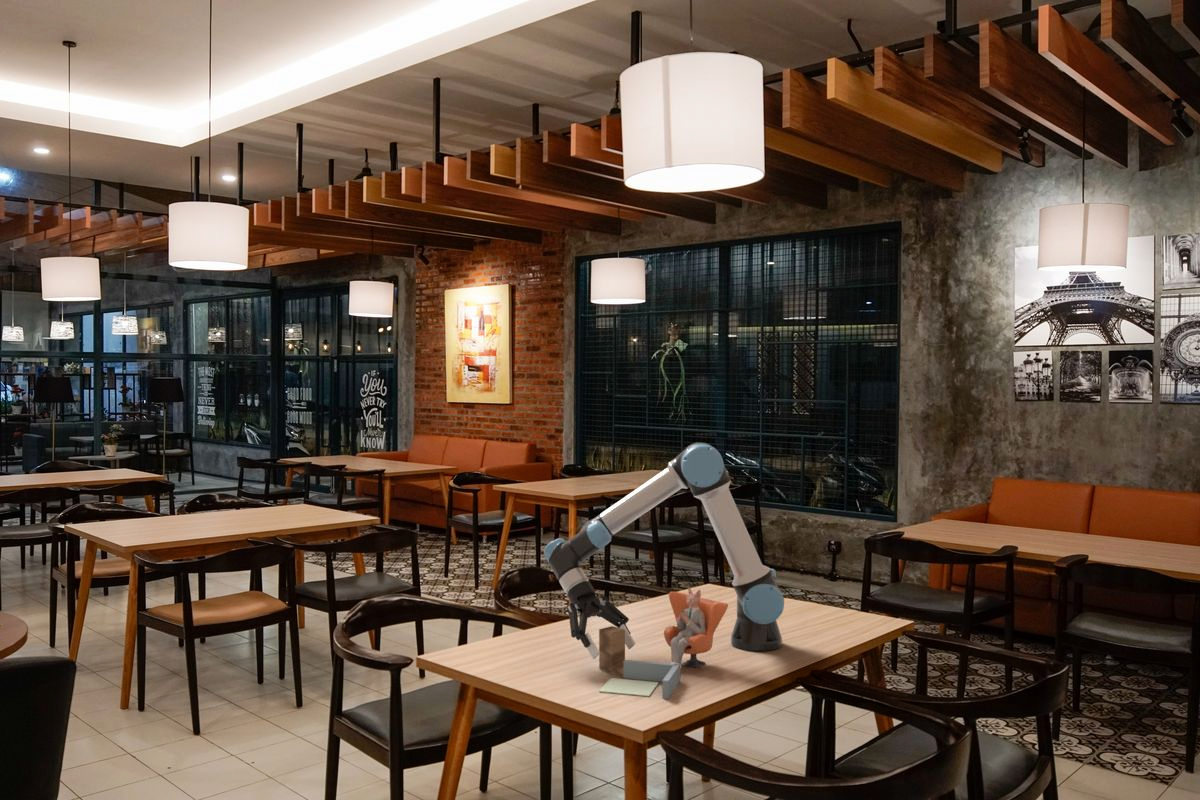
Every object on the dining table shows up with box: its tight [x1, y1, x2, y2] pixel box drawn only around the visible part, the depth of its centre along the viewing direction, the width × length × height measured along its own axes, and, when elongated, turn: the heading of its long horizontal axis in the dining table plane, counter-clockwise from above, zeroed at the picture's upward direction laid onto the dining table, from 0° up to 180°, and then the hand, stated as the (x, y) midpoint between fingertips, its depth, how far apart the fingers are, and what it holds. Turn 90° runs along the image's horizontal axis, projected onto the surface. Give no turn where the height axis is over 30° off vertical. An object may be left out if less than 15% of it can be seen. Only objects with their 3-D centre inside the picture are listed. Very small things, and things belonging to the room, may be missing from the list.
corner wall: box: [622, 659, 681, 700], centre depth 238 cm, size 15×14×4 cm
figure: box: [663, 587, 729, 670], centre depth 255 cm, size 22×18×21 cm
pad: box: [598, 677, 660, 698], centre depth 237 cm, size 13×11×1 cm
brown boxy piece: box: [598, 625, 626, 677], centre depth 252 cm, size 10×5×11 cm, turn 44°
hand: (614, 651), depth 252 cm, fingers open, 13 cm apart
